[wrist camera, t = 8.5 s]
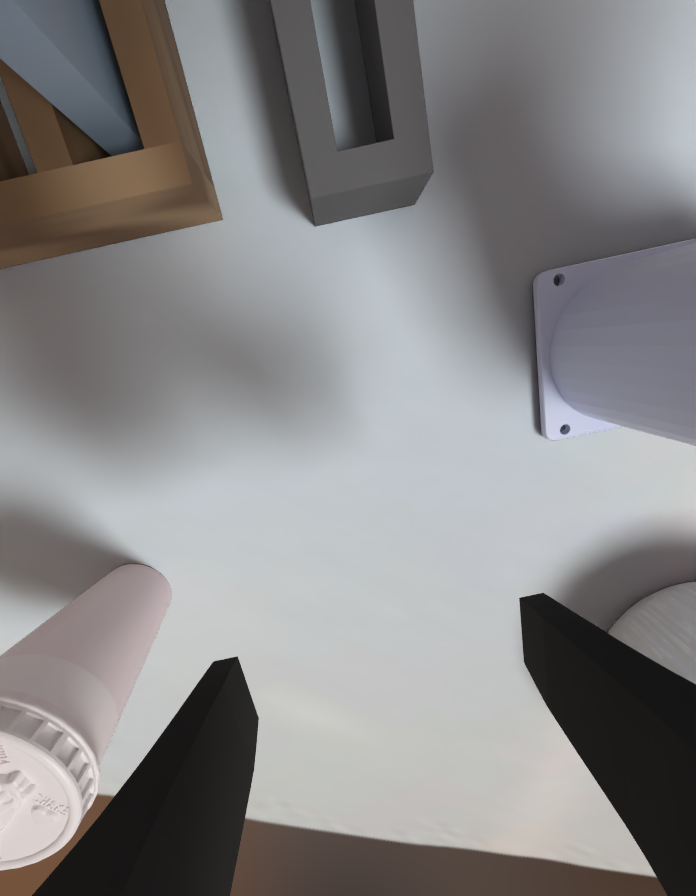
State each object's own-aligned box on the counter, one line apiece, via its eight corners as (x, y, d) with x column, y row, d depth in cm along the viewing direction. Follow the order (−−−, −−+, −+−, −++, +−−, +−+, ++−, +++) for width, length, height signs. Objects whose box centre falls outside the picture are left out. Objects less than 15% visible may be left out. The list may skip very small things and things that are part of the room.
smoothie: (53, 570, 19) (-578, 1074, 6) (155, 523, 19) (-281, 955, 5) (122, 655, 21) (-248, 1198, 8) (217, 613, 21) (2, 1115, 7)
